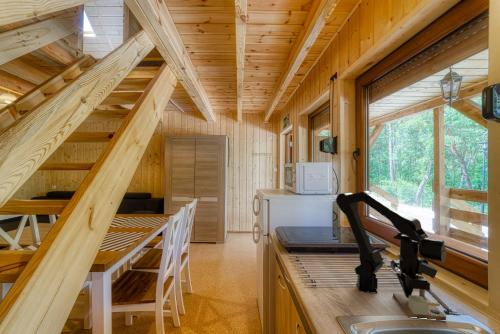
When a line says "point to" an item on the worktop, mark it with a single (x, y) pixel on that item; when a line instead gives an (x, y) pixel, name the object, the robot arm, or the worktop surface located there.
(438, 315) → the board
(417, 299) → the pointer block
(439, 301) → the tactical tomahawk
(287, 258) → the worktop surface
